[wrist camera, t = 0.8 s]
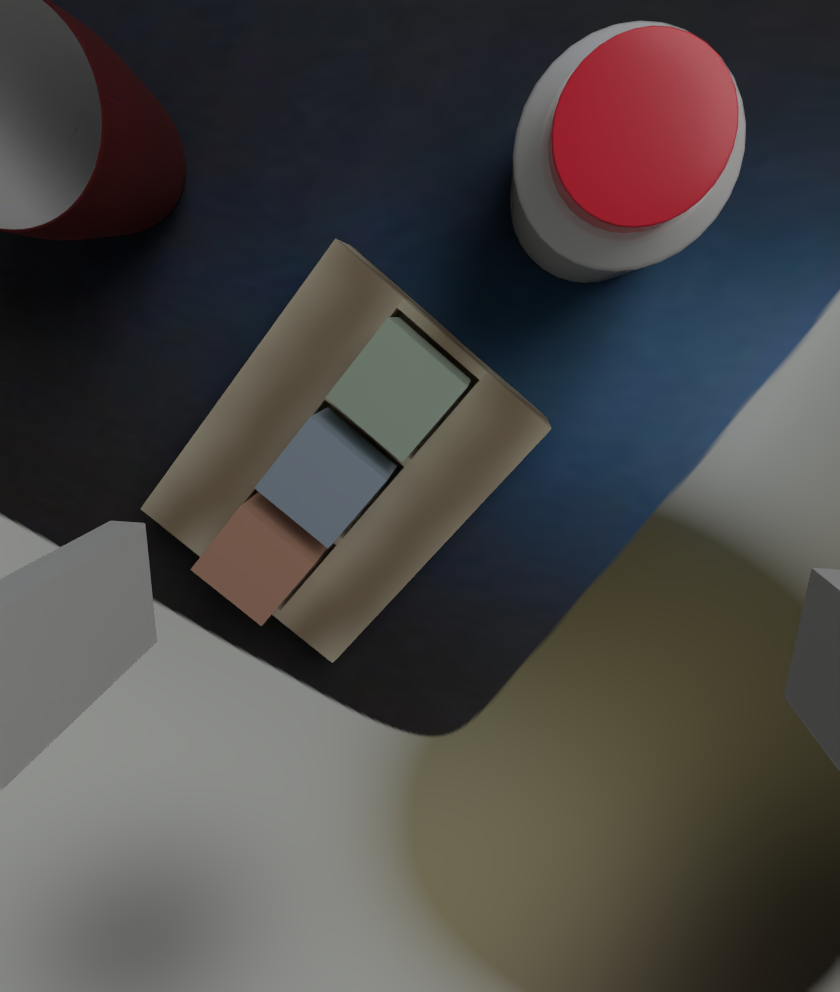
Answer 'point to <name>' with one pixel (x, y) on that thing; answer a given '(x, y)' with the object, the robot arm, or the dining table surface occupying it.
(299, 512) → the tile slate
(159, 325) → the dining table surface
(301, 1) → the dining table surface
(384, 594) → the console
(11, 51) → the mug
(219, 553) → the tile terracotta
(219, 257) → the dining table surface
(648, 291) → the dining table surface
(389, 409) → the tile sage
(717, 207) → the pill bottle
